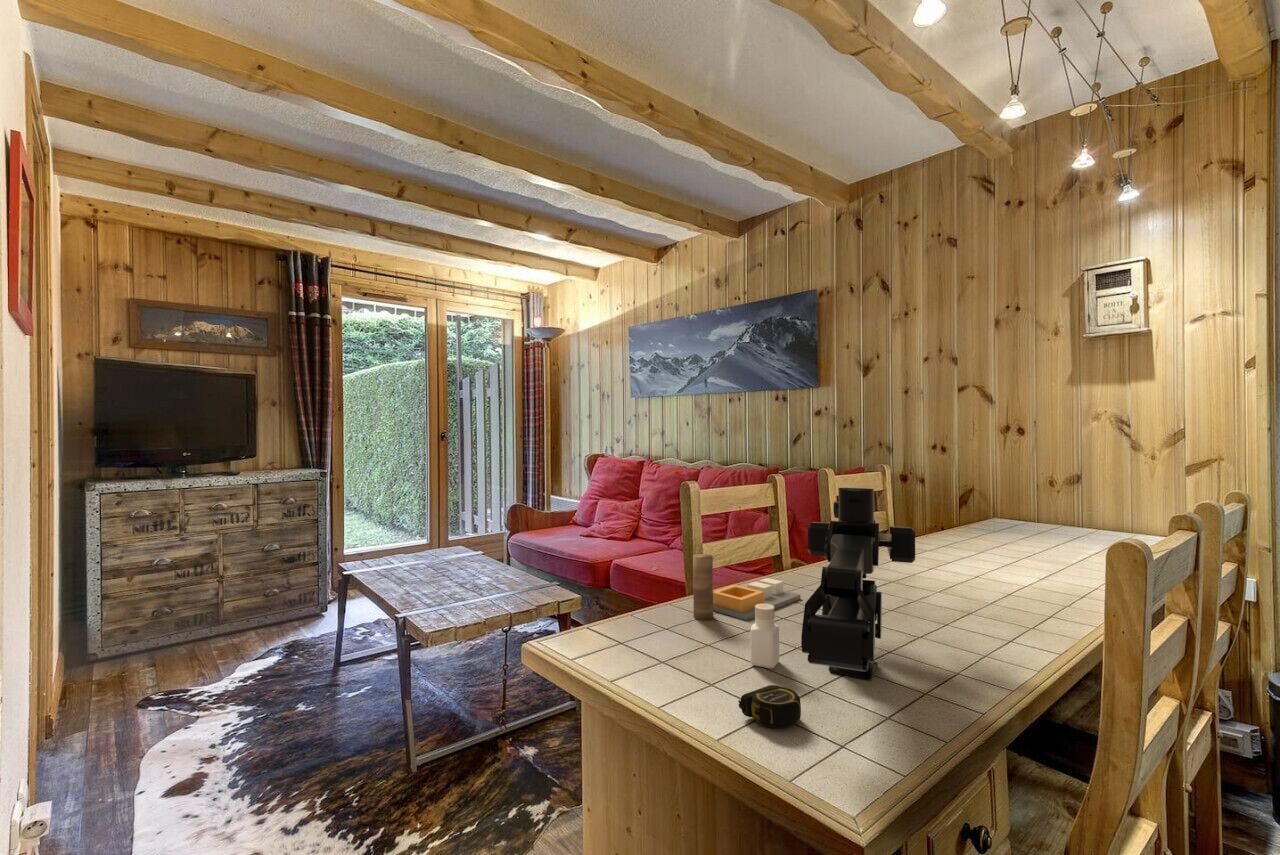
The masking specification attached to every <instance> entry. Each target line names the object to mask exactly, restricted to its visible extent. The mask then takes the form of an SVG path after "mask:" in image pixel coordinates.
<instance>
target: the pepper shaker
mask: <svg viewBox="0 0 1280 855" xmlns="http://www.w3.org/2000/svg"><path fill="white" fill-rule="evenodd" d="M775 618H776V617H775V609H774V606H773V605H770V604H757V605H755V618H754V620H755V622H754V623H753V624H752V625H751V628H750V662H751V665H752V666H756V667H761V668H762V667H763V668H766V669H775V667H776V665H778V662H779V660H780V626H779V625H777V624H775Z"/></svg>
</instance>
